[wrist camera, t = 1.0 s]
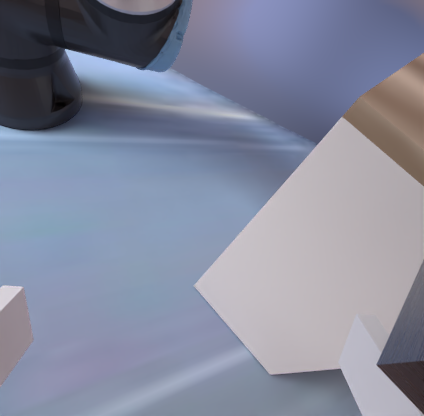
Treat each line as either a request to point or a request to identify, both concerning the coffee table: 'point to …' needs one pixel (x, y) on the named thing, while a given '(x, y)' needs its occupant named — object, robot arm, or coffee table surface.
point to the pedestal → (332, 236)
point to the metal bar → (408, 346)
